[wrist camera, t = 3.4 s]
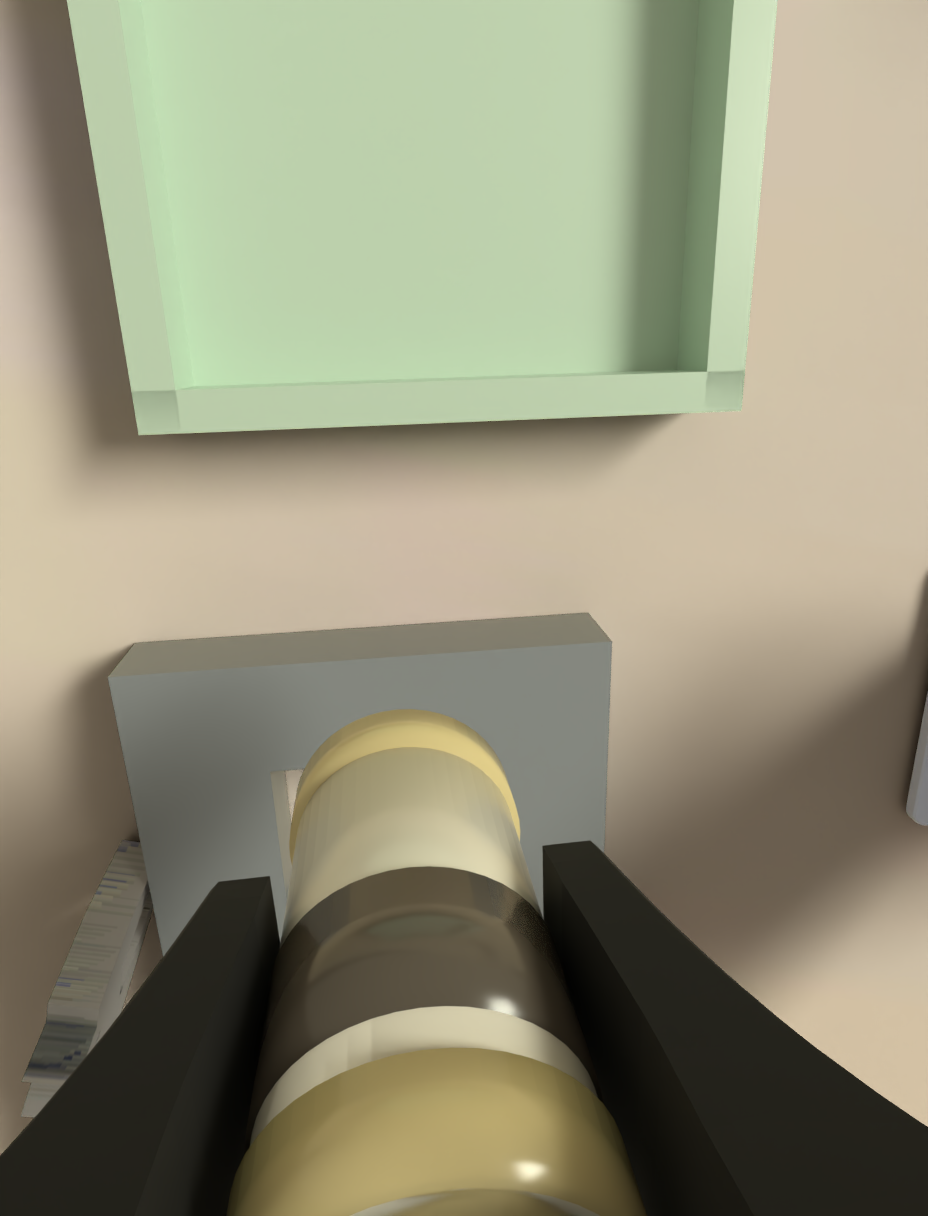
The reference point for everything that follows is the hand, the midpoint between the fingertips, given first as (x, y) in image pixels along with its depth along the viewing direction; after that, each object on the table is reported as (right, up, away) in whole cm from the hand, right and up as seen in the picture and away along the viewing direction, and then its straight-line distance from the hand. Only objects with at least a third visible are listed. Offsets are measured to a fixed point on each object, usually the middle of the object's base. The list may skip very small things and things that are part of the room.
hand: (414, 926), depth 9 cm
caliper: (-10, -11, +14) cm, 20 cm away
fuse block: (-1, -5, +12) cm, 13 cm away
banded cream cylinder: (0, +1, +3) cm, 3 cm away
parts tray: (0, +14, +6) cm, 15 cm away
